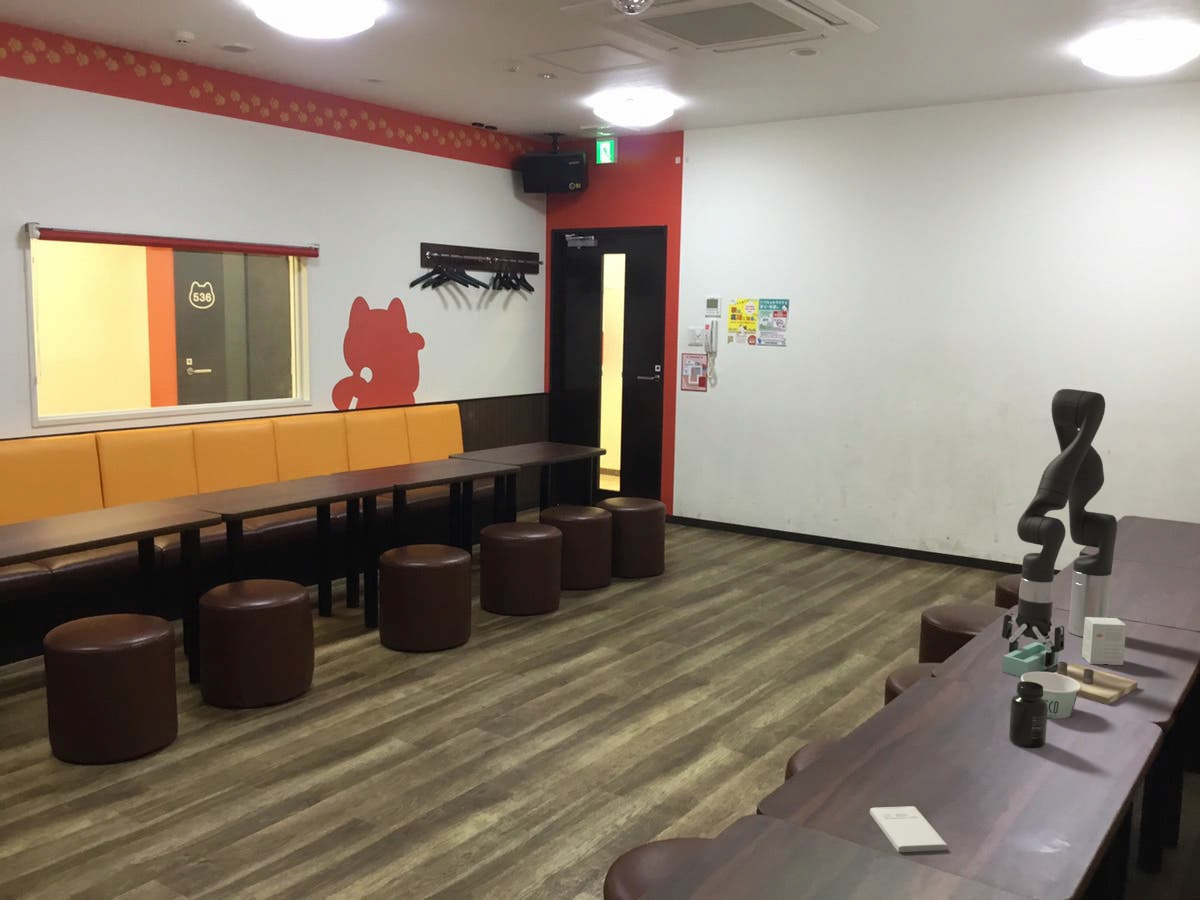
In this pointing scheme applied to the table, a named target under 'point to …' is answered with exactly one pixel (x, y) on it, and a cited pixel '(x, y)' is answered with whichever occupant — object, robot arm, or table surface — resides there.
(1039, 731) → the supplement bottle
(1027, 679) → the food container
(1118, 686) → the peg board
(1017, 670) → the teal rectangular frame
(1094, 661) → the small box
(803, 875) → the table surface
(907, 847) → the external hard drive
